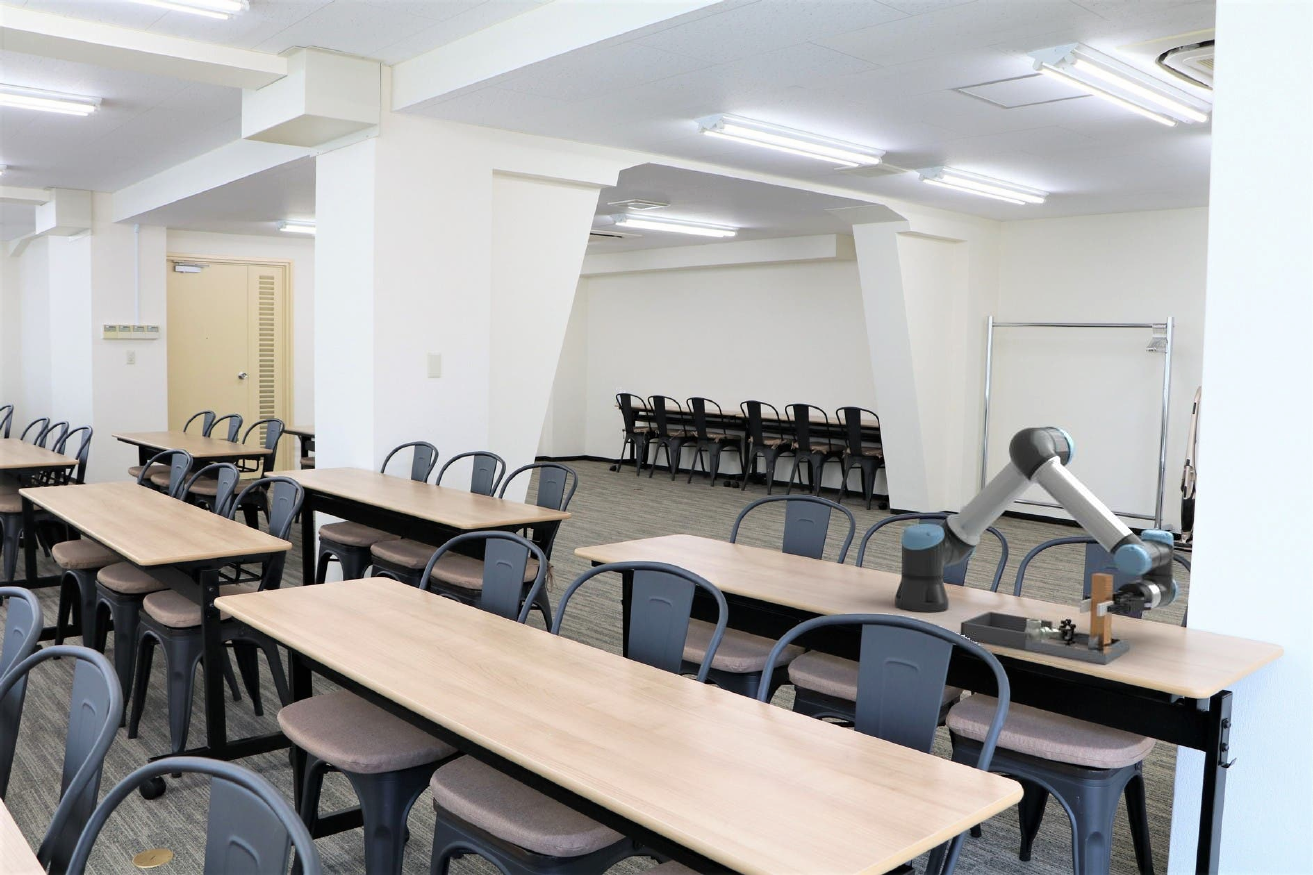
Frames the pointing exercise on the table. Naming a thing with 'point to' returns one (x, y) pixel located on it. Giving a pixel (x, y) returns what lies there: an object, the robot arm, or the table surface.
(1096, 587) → the brown wooden block
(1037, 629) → the valve
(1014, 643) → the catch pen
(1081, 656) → the slot rails
